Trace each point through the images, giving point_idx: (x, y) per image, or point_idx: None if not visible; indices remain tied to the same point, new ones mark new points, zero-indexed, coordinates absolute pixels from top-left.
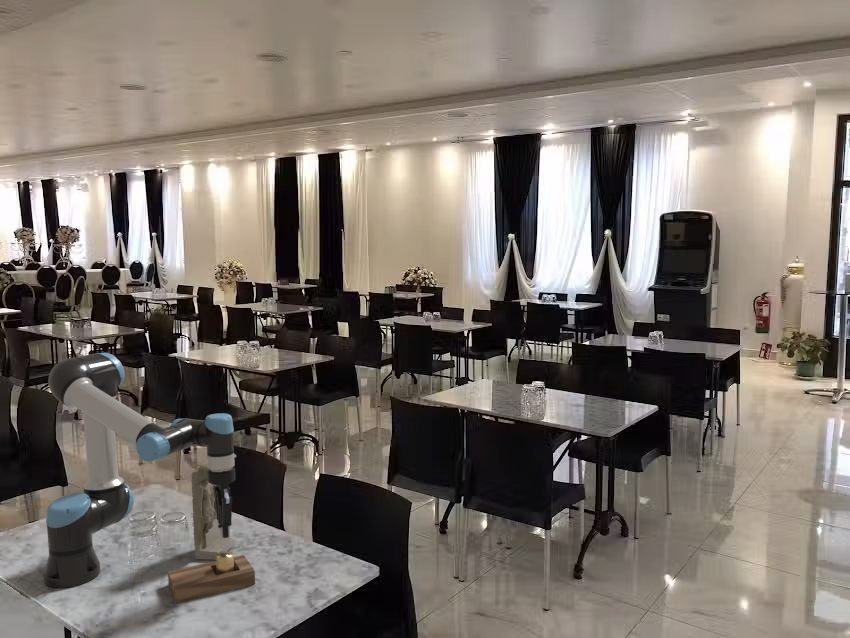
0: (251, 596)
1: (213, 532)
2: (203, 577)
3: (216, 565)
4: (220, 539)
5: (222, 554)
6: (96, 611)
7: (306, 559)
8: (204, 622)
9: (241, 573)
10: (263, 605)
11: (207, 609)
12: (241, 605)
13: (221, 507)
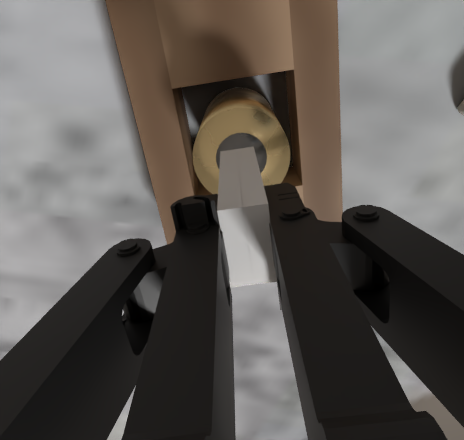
0: (82, 203)
1: None
2: (168, 22)
3: (231, 101)
4: (224, 169)
5: (249, 146)
6: None
7: (293, 379)
8: None
9: (158, 201)
10: (8, 232)
11: (4, 29)
12: (19, 164)
13: (138, 413)
